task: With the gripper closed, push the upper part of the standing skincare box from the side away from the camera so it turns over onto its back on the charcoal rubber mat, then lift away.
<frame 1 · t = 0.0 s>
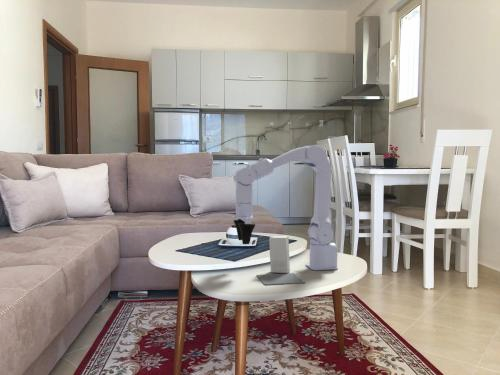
hand: (243, 242, 144), 10 cm above the table, fingers open, 7 cm apart
skincare box: (280, 272, 143), on the table, touching mat
mat: (279, 279, 134), on the table
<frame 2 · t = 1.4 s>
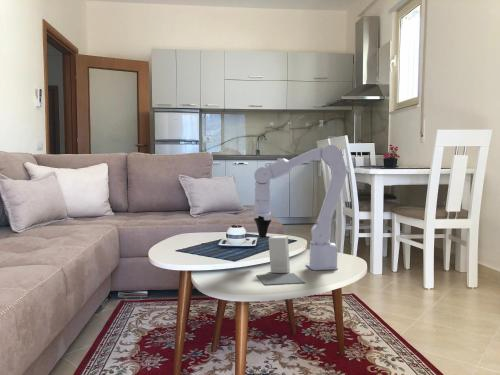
hand: (262, 237, 152), 10 cm above the table, fingers closed
nothing on the table moved.
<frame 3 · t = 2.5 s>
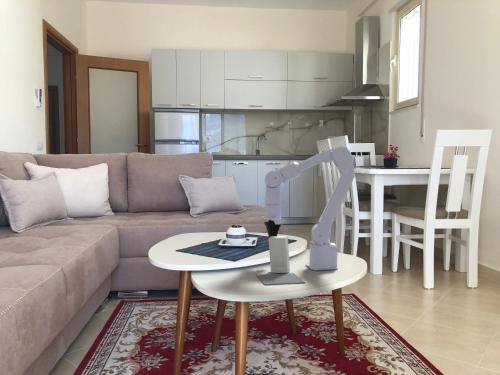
hand: (272, 241, 152), 9 cm above the table, fingers closed
nothing on the table moved.
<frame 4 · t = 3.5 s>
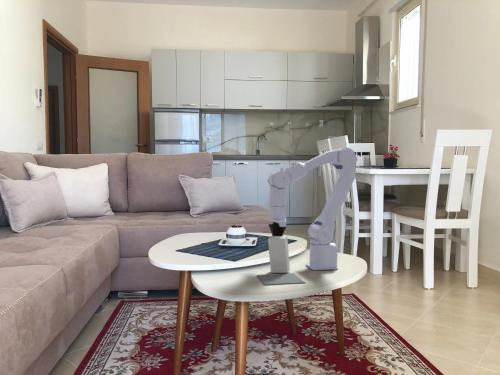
hand: (277, 244, 146), 9 cm above the table, fingers closed
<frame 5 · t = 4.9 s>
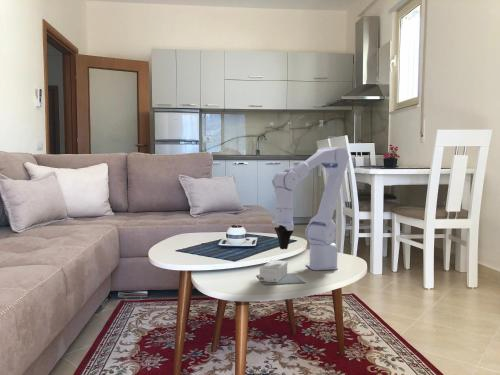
hand: (283, 248, 139), 9 cm above the table, fingers closed
skincare box: (278, 266, 141), point 2 cm above the table, touching mat
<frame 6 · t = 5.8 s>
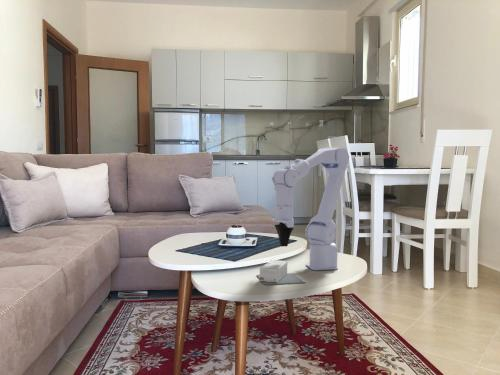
hand: (283, 246, 139), 10 cm above the table, fingers closed
nothing on the table moved.
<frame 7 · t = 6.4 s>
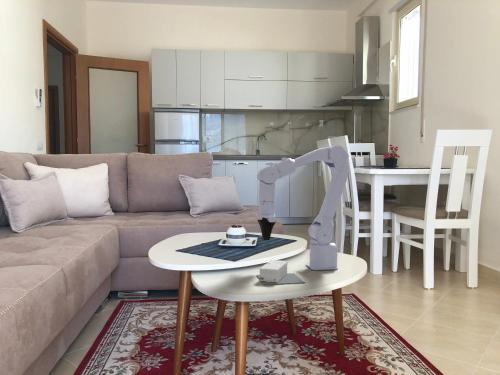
hand: (266, 239, 146), 10 cm above the table, fingers closed
nothing on the table moved.
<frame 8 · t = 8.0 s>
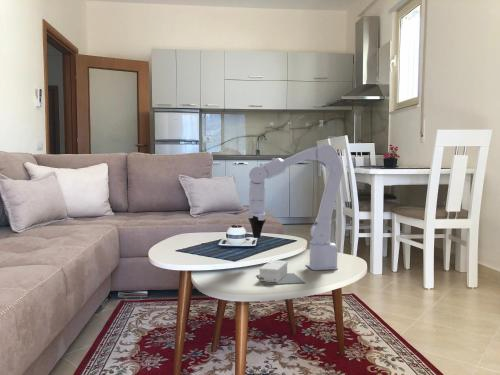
hand: (256, 237, 151), 10 cm above the table, fingers closed
nothing on the table moved.
at the end: skincare box tilted 89°; skincare box inside the target area (1.2 cm from its centre), point 2.3 cm above the table; skincare box touching mat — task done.
